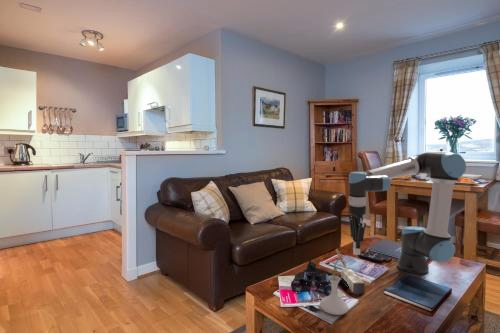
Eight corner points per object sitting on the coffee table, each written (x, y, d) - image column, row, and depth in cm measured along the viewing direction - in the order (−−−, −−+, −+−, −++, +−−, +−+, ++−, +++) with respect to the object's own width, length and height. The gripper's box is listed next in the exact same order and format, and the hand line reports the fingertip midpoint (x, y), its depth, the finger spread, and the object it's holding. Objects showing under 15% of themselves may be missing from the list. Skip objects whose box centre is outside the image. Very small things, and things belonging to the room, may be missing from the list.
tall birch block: (364, 293, 133) (350, 278, 148) (364, 283, 132) (350, 269, 147) (354, 294, 132) (341, 278, 147) (354, 283, 132) (341, 269, 147)
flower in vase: (344, 321, 112) (345, 259, 110) (316, 312, 118) (316, 253, 116) (352, 305, 123) (353, 248, 121) (325, 297, 129) (326, 243, 127)
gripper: (343, 202, 140) (343, 249, 142) (355, 208, 127) (355, 260, 129) (358, 201, 141) (358, 248, 143) (372, 207, 128) (371, 259, 130)
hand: (356, 254), depth 136 cm, fingers closed
